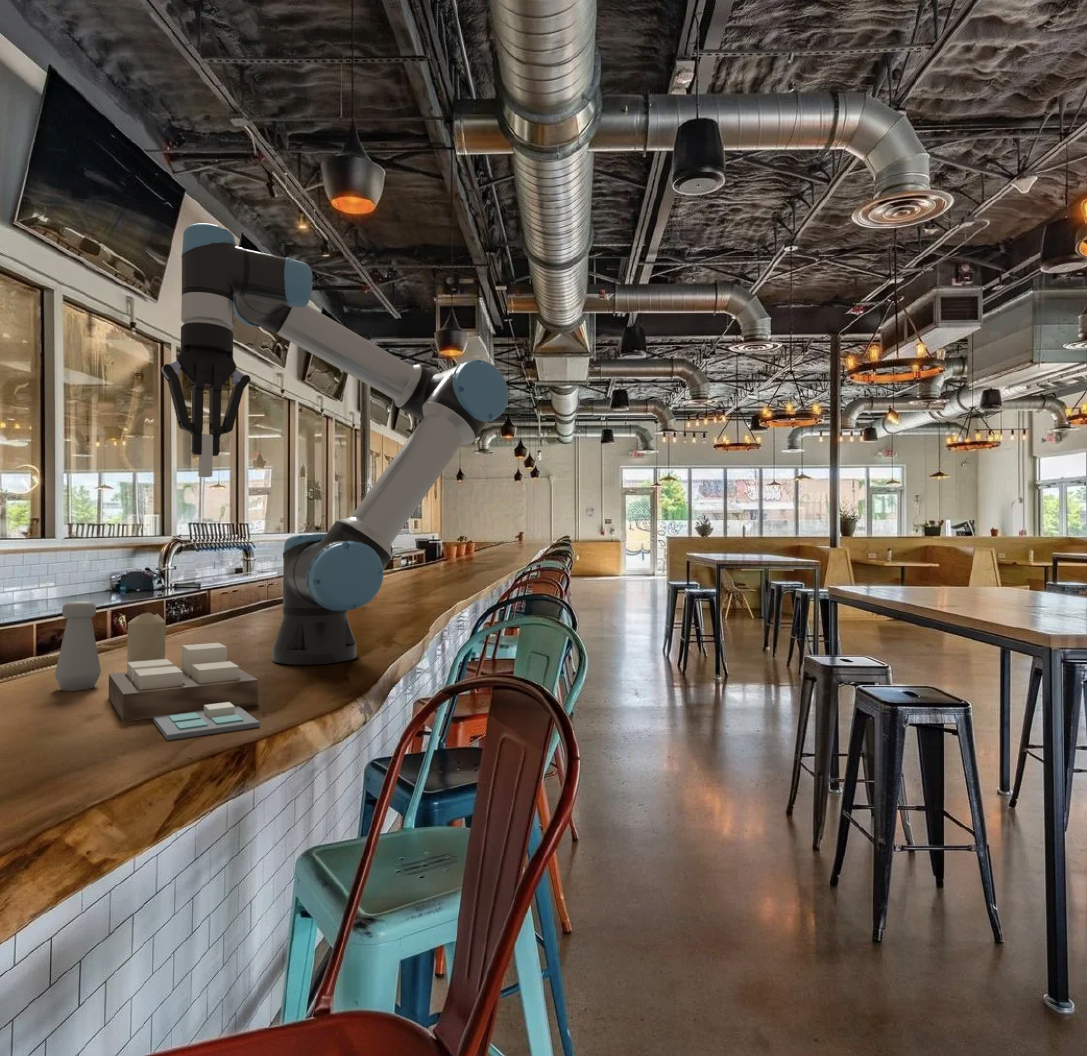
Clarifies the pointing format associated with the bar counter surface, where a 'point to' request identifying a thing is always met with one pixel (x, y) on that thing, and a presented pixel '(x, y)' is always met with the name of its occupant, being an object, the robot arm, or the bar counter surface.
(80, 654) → the salt shaker
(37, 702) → the bar counter surface
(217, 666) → the button
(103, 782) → the bar counter surface
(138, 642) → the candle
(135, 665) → the button
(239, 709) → the card
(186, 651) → the back left button
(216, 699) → the button board
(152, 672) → the button
